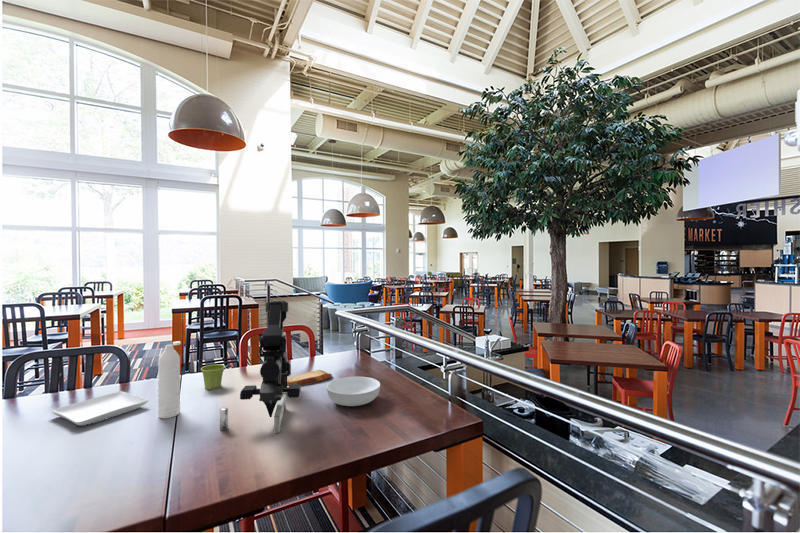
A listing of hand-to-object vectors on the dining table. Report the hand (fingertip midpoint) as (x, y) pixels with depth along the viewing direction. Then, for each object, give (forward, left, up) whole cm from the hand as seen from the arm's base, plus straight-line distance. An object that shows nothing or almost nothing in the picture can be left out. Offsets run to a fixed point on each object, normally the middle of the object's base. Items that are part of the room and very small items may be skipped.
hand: (270, 416), depth 117 cm
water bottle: (+21, -33, -2) cm, 39 cm away
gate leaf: (-3, +1, -2) cm, 3 cm away
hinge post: (-8, -7, -2) cm, 11 cm away
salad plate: (+38, -52, -3) cm, 65 cm away
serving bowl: (-31, +6, -3) cm, 32 cm away
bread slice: (-33, -28, -3) cm, 44 cm away
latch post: (+12, -7, -2) cm, 14 cm away
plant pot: (+1, -51, -2) cm, 51 cm away
